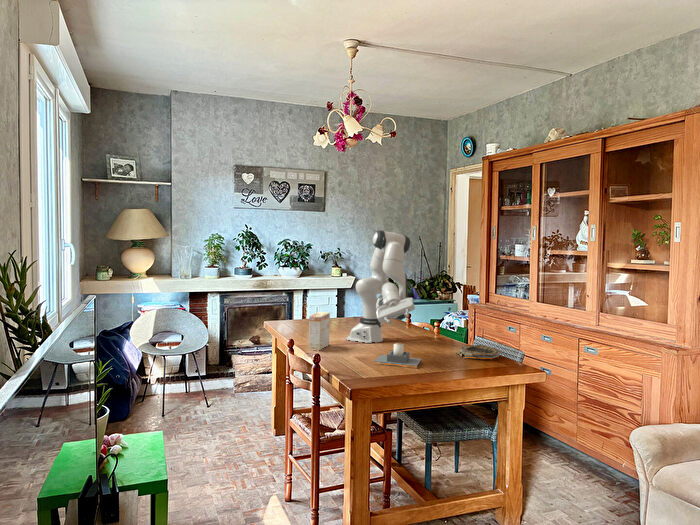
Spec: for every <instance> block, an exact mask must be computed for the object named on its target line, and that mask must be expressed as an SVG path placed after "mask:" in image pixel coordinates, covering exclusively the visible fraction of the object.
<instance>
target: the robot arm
mask: <svg viewBox="0 0 700 525" xmlns="http://www.w3.org/2000/svg"><path fill="white" fill-rule="evenodd" d="M372 245H373V246H374V247H375V249H374V251H373V253H372V258H371V260H370V263H369V268H370V270H371V276H369V277H362V278H360V279H359V280H357V281H356V283H355V291H356V292H357V294H358V295H359V296H360V298H361V302H362V316H360V318H359V323H358V324H356V325H355V326H353V328H351V330H350V333H349V335H348V336H346V337H345V340H346V339H347V340H346V341H348V340H350V341H349V342H355V341H358V342H357V343H362V342H365V343H364V344H373V343H372V342H375V343H380V342H383V341H384V339H383V334H382V324H383V323H384V322H385V323H387V324H388V325H390V324H392V322H391V319H395V320H398V321H403V320H404V319H407V318H409V314H410V312H412V311H414V310H415V309H416V306H415V304H414V299H413V297H409V296H408V295H409V294H408V293H409V292H408V291H409V290H408V289H409V288H408V287H409V285H408V275H407V273H406V272H405V271H404V266H403V265H404V257H405V254H406V253H407V252H408V251H409V250H410V248H411V239H410V237H409V236H407V235H405V234H400V233H397V232H393V231H386V230H382V229H381V230H379V229H378V230H377V231H375V233H374V234H373V237H372ZM388 278H390V279H391V280H393V281H394V282H395V283H396V284H397V285H396V284H395V283H392V282H390V281H389V279H388ZM397 286H398V287H397ZM378 295H379V296H378ZM377 296H378V297H377Z"/></svg>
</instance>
